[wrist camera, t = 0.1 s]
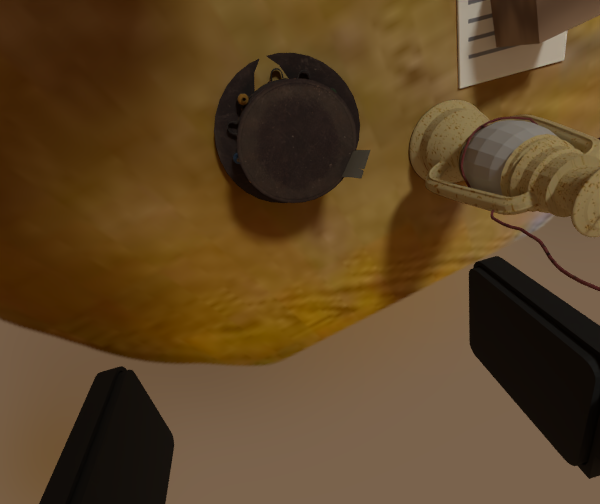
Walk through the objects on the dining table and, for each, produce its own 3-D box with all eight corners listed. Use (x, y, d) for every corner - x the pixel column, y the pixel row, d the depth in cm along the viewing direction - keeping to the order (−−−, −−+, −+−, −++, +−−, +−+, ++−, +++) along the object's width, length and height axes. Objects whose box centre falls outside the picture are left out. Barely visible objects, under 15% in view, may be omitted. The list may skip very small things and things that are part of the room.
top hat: (247, 219, 42) (251, 261, 33) (189, 83, 35) (174, 88, 26) (369, 175, 42) (407, 204, 33) (335, 30, 35) (372, 15, 26)
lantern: (420, 208, 45) (692, 405, 18) (384, 141, 41) (672, 275, 14) (506, 149, 43) (938, 272, 17) (478, 73, 39) (1003, 79, 13)
